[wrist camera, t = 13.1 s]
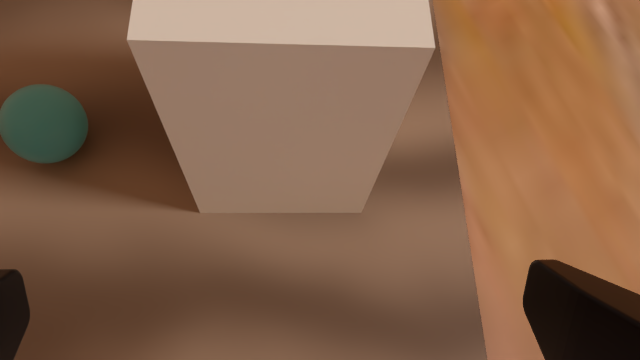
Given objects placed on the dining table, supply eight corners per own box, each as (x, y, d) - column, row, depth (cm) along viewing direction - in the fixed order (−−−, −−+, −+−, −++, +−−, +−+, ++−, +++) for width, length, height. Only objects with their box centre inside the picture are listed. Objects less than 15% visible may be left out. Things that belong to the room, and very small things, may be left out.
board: (482, 365, 19) (487, 364, 18) (-213, 386, 17) (-226, 385, 16) (427, -7, 26) (430, -14, 25) (-67, -23, 24) (-74, -31, 24)
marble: (46, 190, 20) (8, 156, 17) (7, 137, 20) (-36, 98, 18) (113, 146, 21) (87, 108, 18) (73, 98, 21) (43, 54, 19)
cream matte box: (361, 212, 20) (435, 48, 11) (200, 213, 20) (126, 39, 10) (352, 79, 23) (406, -151, 13) (209, 76, 22) (157, -166, 13)
